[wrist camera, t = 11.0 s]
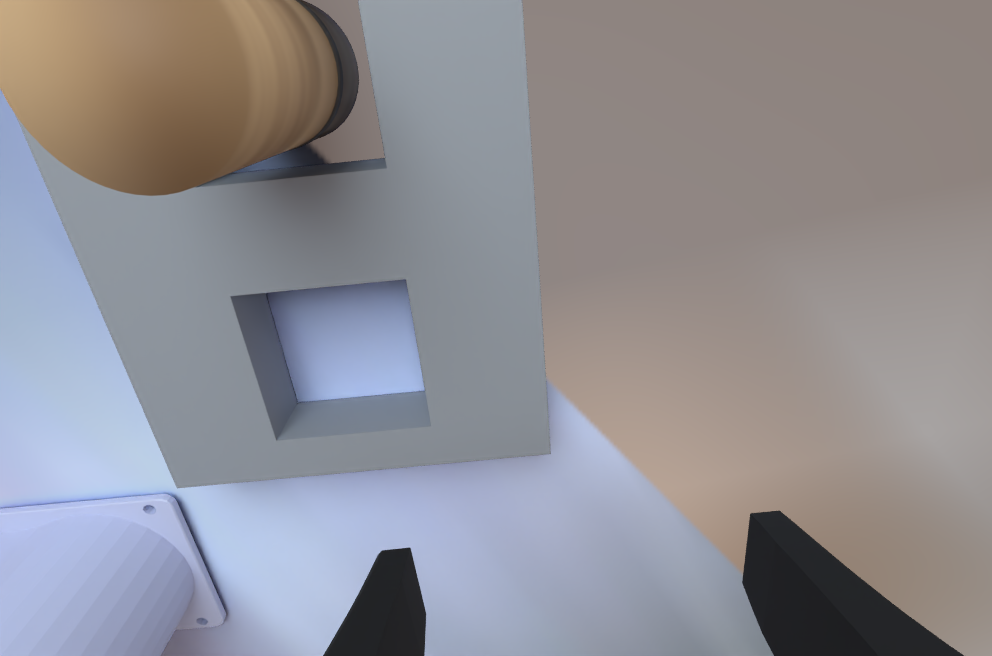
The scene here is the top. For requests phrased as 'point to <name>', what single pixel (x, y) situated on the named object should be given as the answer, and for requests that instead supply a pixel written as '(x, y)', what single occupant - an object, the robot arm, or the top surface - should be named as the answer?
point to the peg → (173, 84)
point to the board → (341, 269)
